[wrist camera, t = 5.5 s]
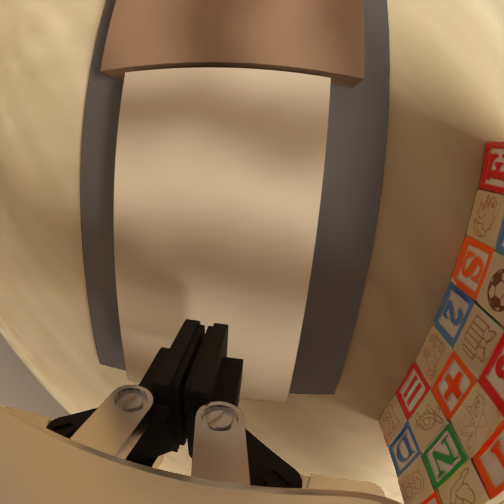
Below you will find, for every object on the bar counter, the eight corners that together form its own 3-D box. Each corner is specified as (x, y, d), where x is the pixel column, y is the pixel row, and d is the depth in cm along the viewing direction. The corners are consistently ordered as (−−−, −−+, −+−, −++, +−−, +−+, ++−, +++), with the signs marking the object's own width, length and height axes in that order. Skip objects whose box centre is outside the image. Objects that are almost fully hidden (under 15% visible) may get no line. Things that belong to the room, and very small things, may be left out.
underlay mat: (375, -63, 9) (377, -67, 9) (332, 389, 18) (333, 394, 18) (136, -68, 10) (134, -72, 9) (102, 359, 19) (100, 363, 18)
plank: (141, 82, 13) (125, 72, 11) (322, 89, 13) (330, 77, 11) (139, 360, 17) (128, 379, 15) (285, 380, 17) (286, 402, 15)
